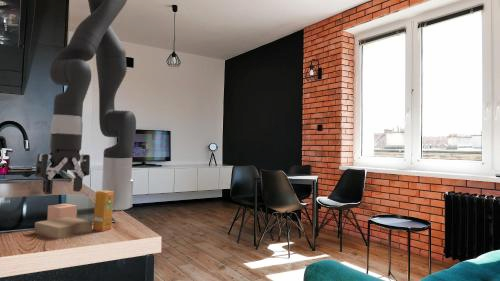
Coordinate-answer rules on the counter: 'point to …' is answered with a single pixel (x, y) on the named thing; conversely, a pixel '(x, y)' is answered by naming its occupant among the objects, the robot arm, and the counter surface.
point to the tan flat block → (63, 227)
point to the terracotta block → (62, 211)
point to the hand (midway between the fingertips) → (62, 192)
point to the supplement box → (103, 210)
